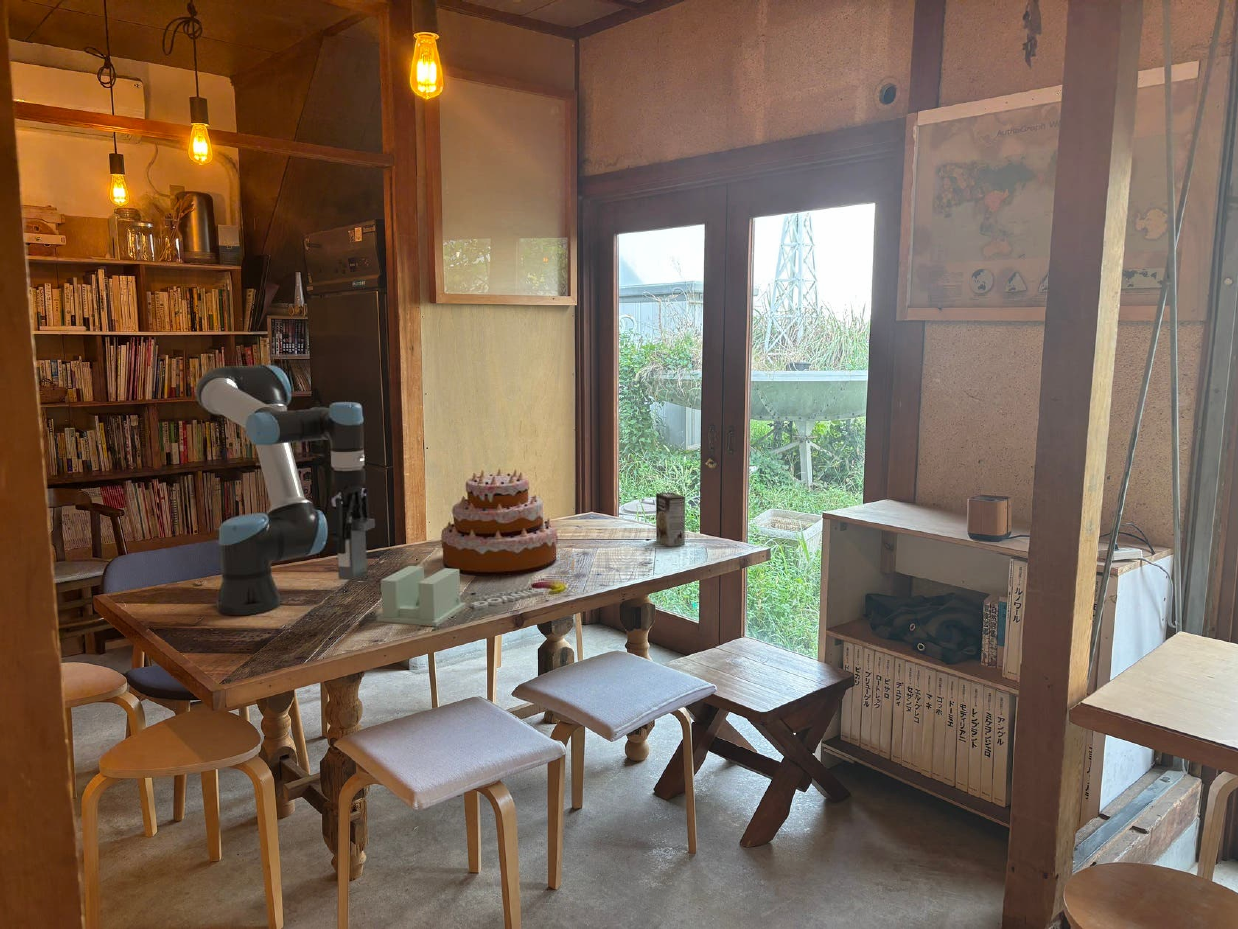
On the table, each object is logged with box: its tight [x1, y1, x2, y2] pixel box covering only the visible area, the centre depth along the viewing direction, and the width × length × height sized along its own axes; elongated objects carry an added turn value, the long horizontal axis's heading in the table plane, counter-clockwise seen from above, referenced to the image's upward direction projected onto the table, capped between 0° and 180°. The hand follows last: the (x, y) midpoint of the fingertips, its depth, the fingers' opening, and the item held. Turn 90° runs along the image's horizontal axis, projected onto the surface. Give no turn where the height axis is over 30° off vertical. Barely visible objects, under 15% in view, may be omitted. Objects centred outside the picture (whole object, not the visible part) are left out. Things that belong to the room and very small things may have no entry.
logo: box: [470, 581, 566, 611], centre depth 238 cm, size 29×1×10 cm
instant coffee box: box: [655, 491, 686, 547], centre depth 295 cm, size 9×6×16 cm
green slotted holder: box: [376, 565, 467, 627], centre depth 223 cm, size 16×16×10 cm
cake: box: [440, 468, 559, 577], centre depth 272 cm, size 35×35×28 cm
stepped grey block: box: [337, 516, 376, 581], centre depth 216 cm, size 7×6×14 cm
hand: (352, 562), depth 217 cm, fingers closed on stepped grey block, 6 cm apart
